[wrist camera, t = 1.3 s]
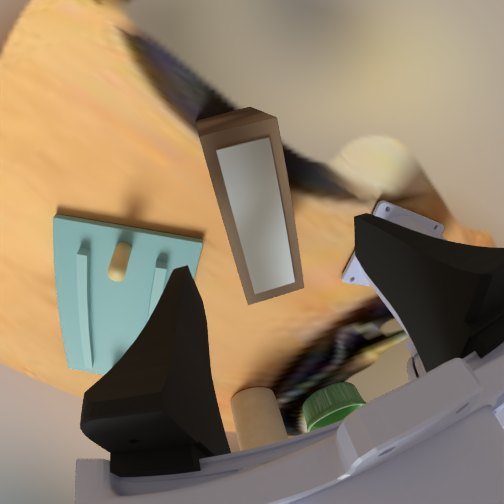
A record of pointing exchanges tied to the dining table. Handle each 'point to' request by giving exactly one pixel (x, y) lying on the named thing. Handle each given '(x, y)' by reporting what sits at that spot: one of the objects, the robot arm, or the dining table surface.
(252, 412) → the candle
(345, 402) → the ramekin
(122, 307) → the light blue peg board
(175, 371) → the robot arm
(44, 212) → the dining table surface
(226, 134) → the walnut frame
